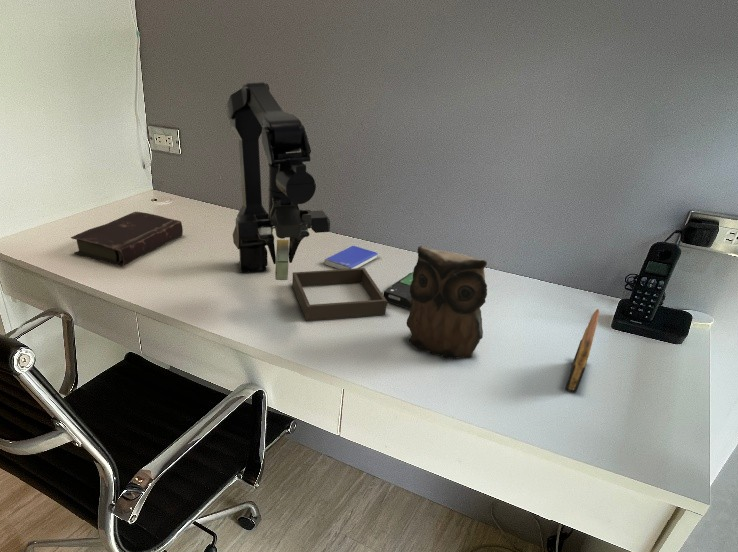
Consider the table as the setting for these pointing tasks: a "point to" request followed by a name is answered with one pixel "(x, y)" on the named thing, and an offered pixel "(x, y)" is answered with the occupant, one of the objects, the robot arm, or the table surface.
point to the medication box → (282, 260)
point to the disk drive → (400, 292)
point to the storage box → (344, 308)
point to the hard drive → (351, 258)
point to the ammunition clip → (582, 355)
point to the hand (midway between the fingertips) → (282, 262)
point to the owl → (447, 303)
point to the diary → (127, 238)
